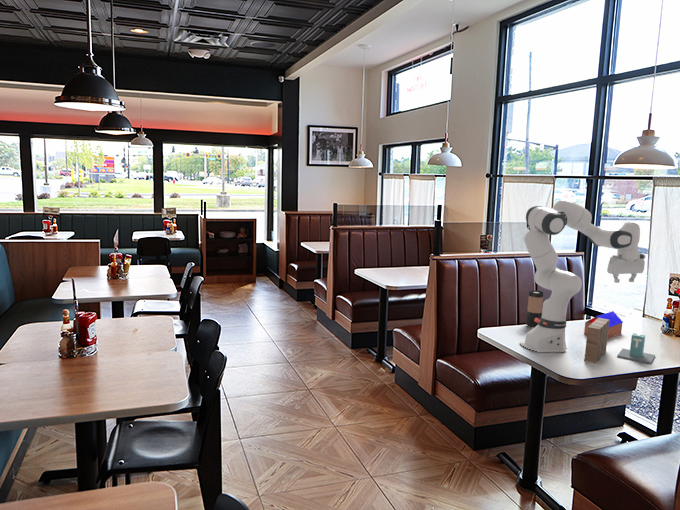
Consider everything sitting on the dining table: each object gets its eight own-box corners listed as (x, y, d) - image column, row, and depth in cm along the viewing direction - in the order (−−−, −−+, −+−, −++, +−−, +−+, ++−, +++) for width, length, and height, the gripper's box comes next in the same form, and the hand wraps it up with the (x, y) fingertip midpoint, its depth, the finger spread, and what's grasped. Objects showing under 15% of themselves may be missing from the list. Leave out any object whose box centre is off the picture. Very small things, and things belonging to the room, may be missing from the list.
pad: (650, 364, 239) (651, 362, 239) (617, 357, 247) (617, 355, 247) (655, 356, 250) (655, 354, 250) (622, 349, 258) (622, 348, 258)
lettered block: (641, 357, 245) (643, 337, 243) (629, 355, 248) (631, 334, 246) (642, 355, 249) (645, 334, 247) (631, 352, 252) (633, 332, 250)
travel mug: (541, 328, 291) (544, 293, 288) (527, 327, 292) (530, 292, 289) (539, 324, 298) (542, 290, 295) (525, 323, 300) (528, 289, 297)
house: (621, 334, 287) (624, 313, 285) (605, 340, 274) (607, 318, 272) (599, 328, 296) (602, 308, 294) (583, 334, 283) (585, 313, 281)
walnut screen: (595, 362, 238) (599, 329, 236) (584, 360, 241) (587, 327, 239) (605, 351, 255) (609, 319, 253) (594, 348, 258) (598, 317, 256)
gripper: (616, 256, 251) (612, 284, 253) (648, 255, 257) (644, 282, 259) (605, 254, 257) (602, 281, 259) (637, 253, 263) (634, 280, 265)
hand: (624, 282), depth 259 cm, fingers open, 8 cm apart
